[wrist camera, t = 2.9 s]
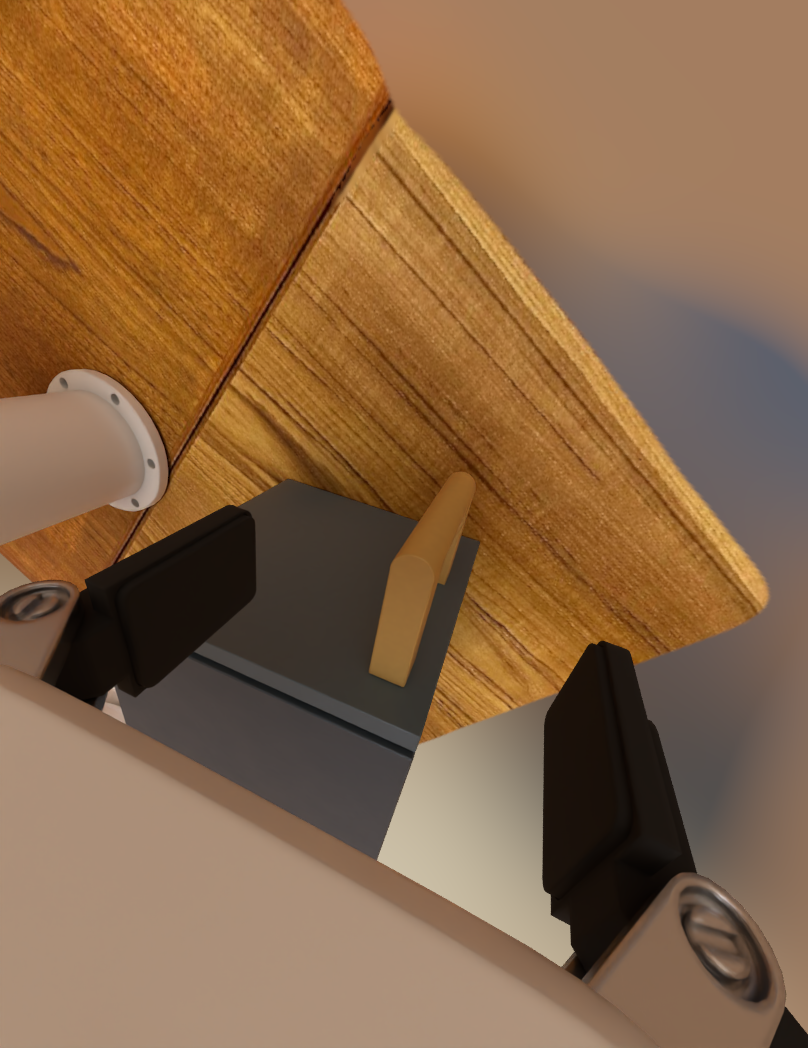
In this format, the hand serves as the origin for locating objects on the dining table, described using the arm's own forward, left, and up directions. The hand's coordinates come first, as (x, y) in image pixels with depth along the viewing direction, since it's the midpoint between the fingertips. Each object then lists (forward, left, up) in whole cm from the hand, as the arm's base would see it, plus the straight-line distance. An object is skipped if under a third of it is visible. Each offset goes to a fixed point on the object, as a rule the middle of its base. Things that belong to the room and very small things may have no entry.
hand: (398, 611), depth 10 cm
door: (-6, -3, -16) cm, 18 cm away
